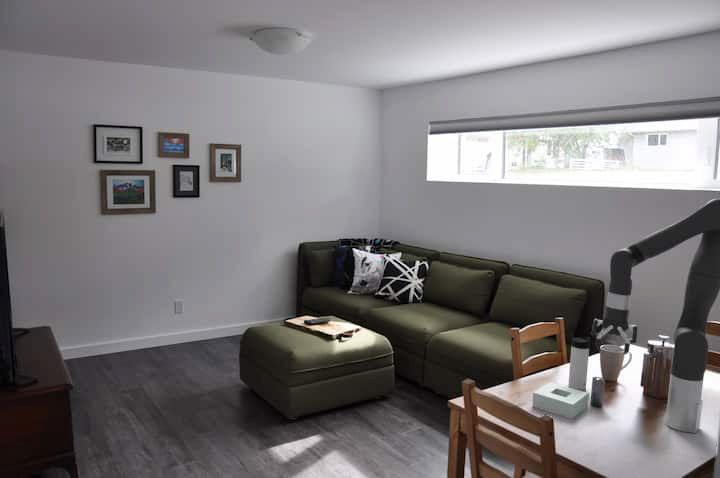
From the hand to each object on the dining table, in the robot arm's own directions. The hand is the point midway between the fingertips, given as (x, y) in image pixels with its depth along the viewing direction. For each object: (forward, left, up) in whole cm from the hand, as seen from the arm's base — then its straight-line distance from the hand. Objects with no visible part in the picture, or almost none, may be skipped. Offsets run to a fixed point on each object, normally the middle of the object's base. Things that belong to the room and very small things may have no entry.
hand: (611, 351), depth 194 cm
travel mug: (+14, -9, -21) cm, 26 cm away
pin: (+3, +2, -20) cm, 21 cm away
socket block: (+12, +12, -20) cm, 26 cm away
